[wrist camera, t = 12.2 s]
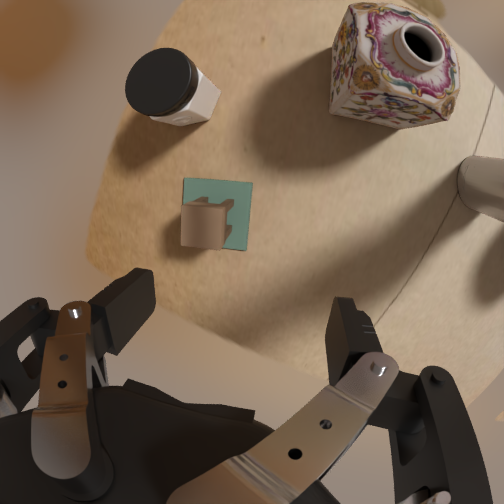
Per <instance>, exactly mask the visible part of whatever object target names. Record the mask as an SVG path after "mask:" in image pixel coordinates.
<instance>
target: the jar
mask: <svg viewBox="0 0 504 504" xmlns="http://www.w3.org/2000/svg"><path fill="white" fill-rule="evenodd" d="M125 93H126V98H127V100H128V102H129V104H130V105H131V107H132V108H133V109H135V110H136V111H138V112H140V113H142V114H144V115H148V116H149V117H150V118H151V119H152V120H156V121H160V122H164V123H169V124H173V125H177V126H185V125H189V124H193V123H197V122H202V121H206V120H210V118H211V115H212V113H213V110H214V108H215V106H216V103H217V101H218V99H219V96H220V94H221V91H220V90H219V89H218V87H217V86H216V85H215V84H214V83H213V82H212V81H211V80H210V79H209V78H208V77H207V76H206V75H205V74H204V72H202V71H201V70H200V69H199V68H198V67H197V66H196V65H195V64H194V63H193V62H192V61H191V60H190V59H189V58H188V57H187V56H186V55H185V54H184V53H182V52H181V51H179V50H177V49H173V48H160V49H156V50H153V51H151V52H149V53H147V54H145V55H144V56H143V57H141V58H140V59H139V60H138V61H137V62H136V63H135V64H134V66H133V67H132V69H131V70H130V72H129V74H128V77H127V80H126V85H125Z"/></svg>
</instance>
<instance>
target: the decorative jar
mask: <svg viewBox="0 0 504 504" xmlns="http://www.w3.org/2000/svg"><path fill="white" fill-rule="evenodd" d="M331 64H332V65H331V85H330V103H329V113H330V114H334V115H339V116H345V117H349V118H354V119H359V120H363V121H368V122H372V123H376V124H380V125H384V126H388V127H392V128H396V129H405V128H412V127H418V126H423V125H427V124H433V123H437V122H441V121H448V120H449V118H450V116H451V113H452V112H453V110H454V106H455V103H456V99H457V96H458V94H459V91H460V67H459V62H458V57H457V53H456V51H455V49H454V48H453V47H452V45H451V43H450V42H449V40H448V39H447V38H446V36H445V34H444V33H442V31H441V30H440V29H439V28H438V27H437V26H436V25H435V24H434V23H433V22H432V21H431V20H430V19H429V18H428V17H427V16H425V15H422V14H420V13H418V12H416V11H413V10H411V9H409V8H406V7H403V6H399V5H395V4H391V3H365V2H361V3H354V4H351V5H349V6H348V9H347V11H346V13H345V15H344V18H343V20H342V22H341V25H340V27H339V29H338V31H337V34H336V36H335V39H334V42H333V45H332V63H331Z"/></svg>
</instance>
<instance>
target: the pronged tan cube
mask: <svg viewBox="0 0 504 504" xmlns="http://www.w3.org/2000/svg"><path fill="white" fill-rule="evenodd" d="M233 206H234V199H226V200H225V201H223V202H222V203H221V204H215V203H208V197H203V196H202V197H200V198H198V199H196V200H194V201H189V202H187V203H185V204H183V205H181V246H188V247H196V248H204V249H211V250H219V251H220V250H221V249H222V247H223V246H224V244H225V241H226V239H227V238H228V236H229V235H230V234H231V232H232V225H227V212H228V211H229V210H230V209H231V208H232V207H233Z"/></svg>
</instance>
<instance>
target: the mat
mask: <svg viewBox="0 0 504 504" xmlns="http://www.w3.org/2000/svg"><path fill="white" fill-rule="evenodd" d="M252 185H253V183H249V182H238V181H227V180H214V179H199V178H184V195H183V204H185V203H187V202H189V201H194V200H196V199H198V198H200V197H202V196H203V197H208V203H215V204H221V203H222V202H223V201H225V200H226V199H234V206H233V207H232V208H231V209H230V210H229V211H228V212H227V225H232V232H231V234H230V235H229V236H228V238H227V239H226V241H225V244H224V246H223V247H222V248H229V249H237V250H245V251H246V250H247V240H248V229H249V218H250V207H251V196H252Z"/></svg>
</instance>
